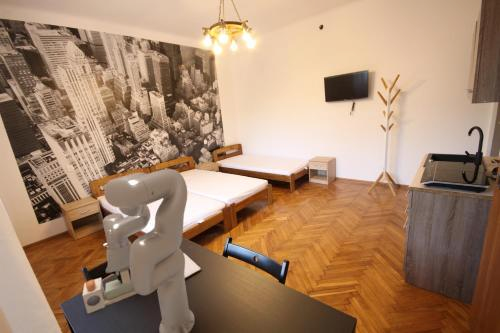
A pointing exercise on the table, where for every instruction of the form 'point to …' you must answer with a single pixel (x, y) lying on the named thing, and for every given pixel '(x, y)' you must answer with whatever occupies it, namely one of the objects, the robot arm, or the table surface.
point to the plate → (190, 266)
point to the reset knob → (90, 285)
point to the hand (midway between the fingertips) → (126, 278)
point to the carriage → (119, 285)
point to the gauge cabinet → (94, 297)
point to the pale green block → (118, 297)
